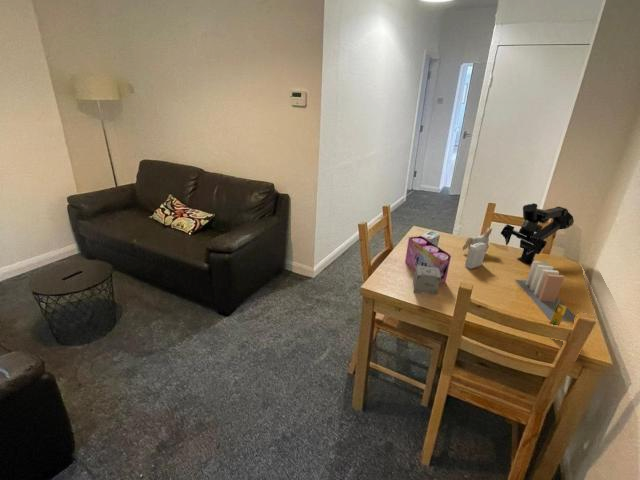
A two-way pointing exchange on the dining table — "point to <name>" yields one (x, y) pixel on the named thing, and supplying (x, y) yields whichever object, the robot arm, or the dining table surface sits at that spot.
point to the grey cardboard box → (426, 279)
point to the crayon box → (558, 314)
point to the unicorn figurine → (478, 239)
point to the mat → (546, 304)
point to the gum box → (427, 255)
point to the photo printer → (475, 255)
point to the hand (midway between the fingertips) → (516, 249)
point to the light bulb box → (432, 237)
